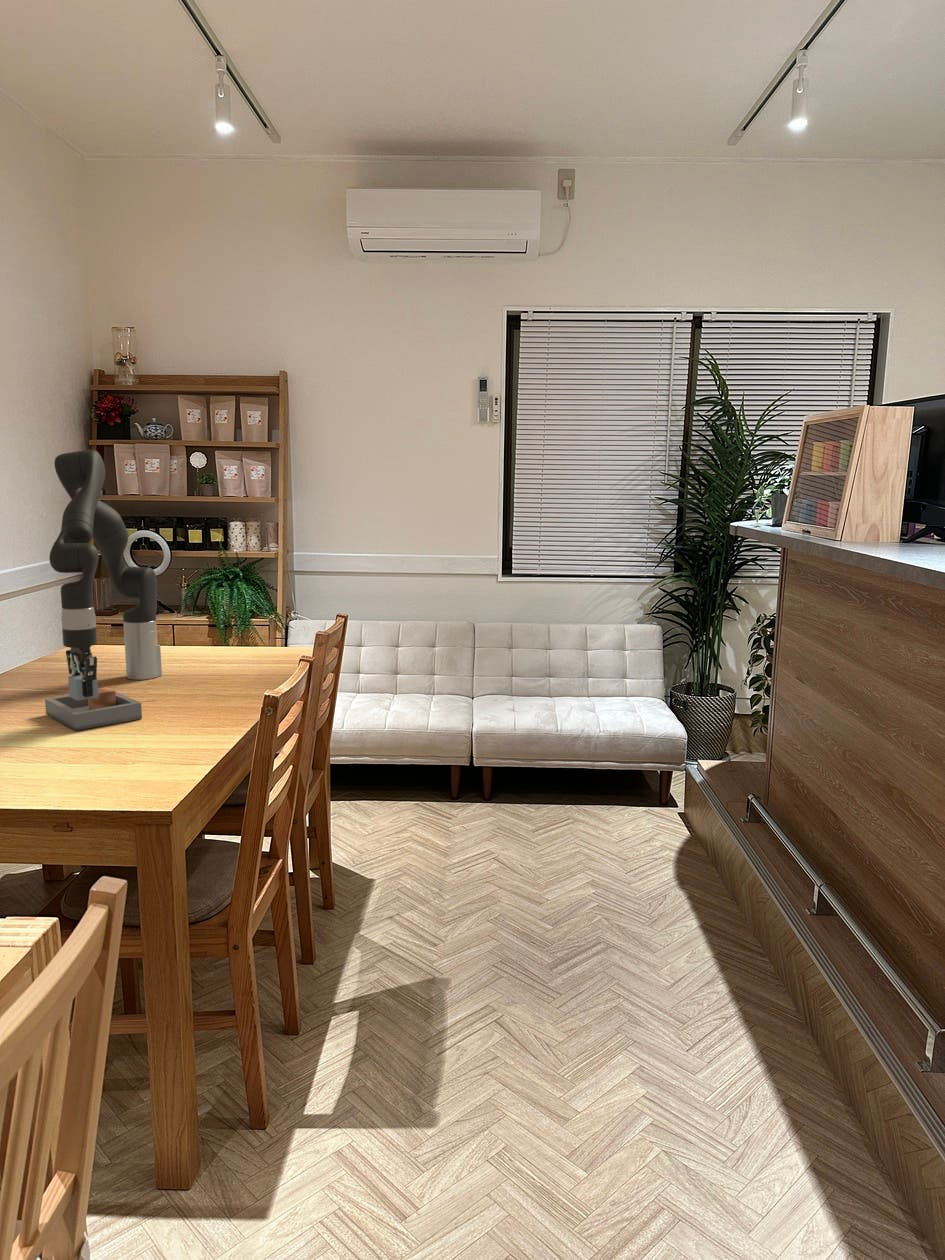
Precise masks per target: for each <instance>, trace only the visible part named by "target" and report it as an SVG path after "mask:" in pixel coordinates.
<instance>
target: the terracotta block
mask: <svg viewBox="0 0 945 1260" xmlns="http://www.w3.org/2000/svg"><path fill="white" fill-rule="evenodd" d="M115 692H116V690H115V689H113V688H110V687H108V686H107V687H106V686H105V687H100V688H99V687H98V697H96V698H90V699H88V706H89V710H94V709H100V708H105V707H111V706H116V694H115Z"/></svg>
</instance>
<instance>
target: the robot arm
mask: <svg viewBox="0 0 945 1260" xmlns="http://www.w3.org/2000/svg"><path fill="white" fill-rule="evenodd" d="M105 467H106V466H105V462H104V459H103V458H102V456H101V454H100V453H99V452H98V451H97V450H95V449H86V450H85V449H84V450H78V451H72V452H65V453H61V454H59V455H57V456H56V457H55V459H54V468H55V469H54V470H55V473H56V475H57V478H58V481H60V484H61V485H62V487H63V488H64V490H65V492H66V494H68V496H69V497H70V499H71V500H70V501H69V503H68V504H67V505H66V507H65V509H64V511H63V513H62V517H61V518H62V519H61V526H60V527H61V528H60V532H59V534H58V536H57V538H56V539H55V542H54V543H53V544H52V547H51V549H50V552H49V564H50V567H51V568H52V569H53V570H54V571H55V572H57V573H60V574H61V573H62V574H64V573H65V574H68V573H69V574H71V573H73V574H74V573H76V574H77V573H82V576H81V579H79V580H76V581H71V582H66V583H64V584H62V585H61V587H60V599H61V601H60V602H61V603H60V604H61V631H62V643H63V644H62V645H63V646H64V647H66V648H70V649H67V650H66V651H65V654H66V655H65V656H66V662H67V669H68V674H69V675H71V676H77V675H81V679H82V689H83V696H84V697H91V696H93V684H92V681H94V680H96V677H97V671H98V665H97V664H98V657H97V656H93V653H92V649H91V647H92V646H93V647H94V646H96V645H97V643H98V635H97V632H98V631H97V619H96V612H95V608H94V607H95V606H94V605H95V604H94V582H95V576H96V572H97V568H98V565H99V559H100V555H101V557H102V560H103V561H104V563H105V566H106V567H107V571H108V572H109V575H110V576H109V577H110V578H111V581H112V584H113V587H114V588H115V590H116V592H117V593H118V594H119V596H120V597H121V598H122V597H123V598H125V599H126V598H128V599H129V598H130V599H139V601H138V602H139V603H138V605H136V606H134V607H133V608H131V609H130V608H129V609H126V610H125V611H124V612H123V613H122V621H123V622H122V623H123V637H124V651H125V652H124V655H125V670H126V671H125V673H126V679H128V680H135V681H137V680H138V681H139V680H141V681H142V680H151V679H154V678H157V677H162V676H163V670H162V651H161V645H160V644H158V632H157V629H158V627H157V609H158V597H157V596H158V593H157V592H158V582H157V581H158V580H157V575H156V572H155V571H154V569H153V568H151V567H147V566H128V565H127V564H126V562H125V560H124V553H125V550H126V549H127V548H126V547H127V545H128V542H129V531H128V529H127V528H126V524H125V522H124V521H123V518H122V516H121V515H120V513H118V512H117V510H116V509H114V508H113V507H112V506H110V505H108V504H107V503H106V502H103V501H101V500H100V497H101V494H102V491H103V487H104V483H105V479H106V468H105ZM92 539H93V542H94V544H95V545H96V546H95V545H94V544H93V543H91V541H92ZM98 550H99V551H98ZM99 552H100V553H99ZM88 674H89V676H88Z"/></svg>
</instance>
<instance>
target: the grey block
mask: <svg viewBox="0 0 945 1260" xmlns="http://www.w3.org/2000/svg"><path fill="white" fill-rule="evenodd" d="M88 676H89V673H88ZM67 679H68V693H69V694H68V695H69V696H70V697H71V698H73V699H75V700H77V701H78V700H84V699H90V698H96V697H98V689H99V685H98V677H97V676H96V680H94V681H92V684H93V696H91V697H84V696H83V689H82V679H81V675H77V676H72V675H71V676H68V677H67Z"/></svg>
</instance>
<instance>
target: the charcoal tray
mask: <svg viewBox="0 0 945 1260" xmlns="http://www.w3.org/2000/svg"><path fill="white" fill-rule="evenodd" d="M115 694H116V706H111V707H105V708H100V709H94V710H89V706H88V699H84V700H78V701H77V700H75V699H73V698H71V697H70V696H69V694H67V695H66V694H65V695H60V696H55V697H54V696H53V697H47V698H44V702H45V703H44V705H45V715H47V716H48V717H51V718H52V719H54V720H56V721H57V722H59V723H61V724H62V725H64V726H66V727H68V728H69V729H72V730H73V731H75V732H77V731H83V730H88V729H95V728H99V727H104V726H109V725H116V724H119V723H125V722H130V721H136V720H141V719H143V714H142V711H143V710H142V702H140V701H138V700H135V699H133V698H130V697H129V696H126V695H124V694H122V693H120V692H117V691H115Z"/></svg>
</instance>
